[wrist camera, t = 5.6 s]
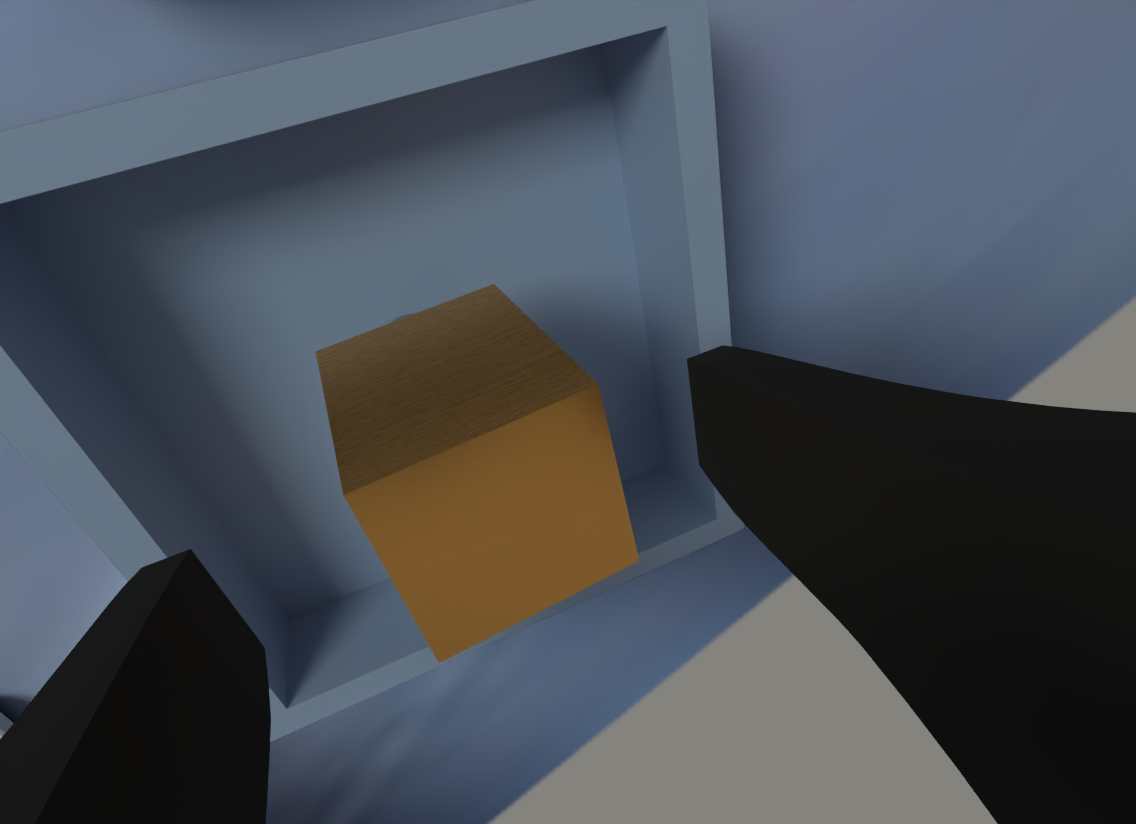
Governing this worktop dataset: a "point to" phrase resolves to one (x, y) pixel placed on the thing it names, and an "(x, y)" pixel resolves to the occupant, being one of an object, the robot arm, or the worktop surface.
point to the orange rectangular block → (476, 465)
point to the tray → (358, 297)
